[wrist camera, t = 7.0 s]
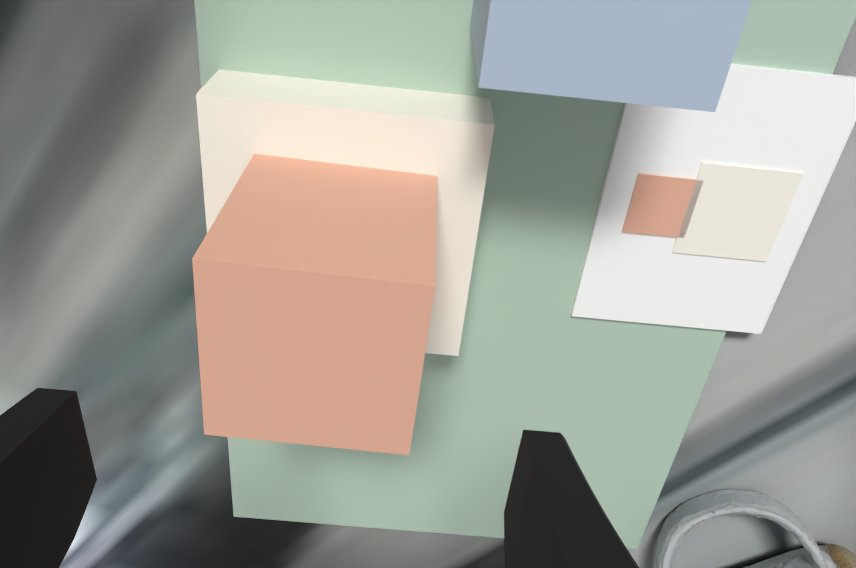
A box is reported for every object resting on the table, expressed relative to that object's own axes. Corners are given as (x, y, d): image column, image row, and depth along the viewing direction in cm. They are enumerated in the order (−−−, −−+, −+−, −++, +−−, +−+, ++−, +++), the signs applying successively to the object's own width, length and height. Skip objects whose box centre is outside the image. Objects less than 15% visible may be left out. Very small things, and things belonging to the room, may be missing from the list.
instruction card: (870, 78, 18) (874, 81, 18) (759, 330, 22) (761, 334, 22) (637, 53, 18) (639, 55, 17) (570, 313, 22) (571, 317, 22)
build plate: (893, -107, 16) (905, -105, 16) (634, 538, 29) (637, 549, 28) (186, -191, 15) (179, -191, 15) (236, 506, 28) (233, 516, 28)
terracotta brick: (416, 322, 20) (409, 455, 16) (255, 304, 20) (204, 434, 15) (437, 176, 17) (435, 286, 13) (254, 153, 17) (192, 258, 13)
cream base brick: (489, 97, 18) (494, 124, 17) (457, 315, 22) (458, 356, 20) (219, 69, 18) (195, 94, 16) (233, 295, 22) (215, 334, 20)
